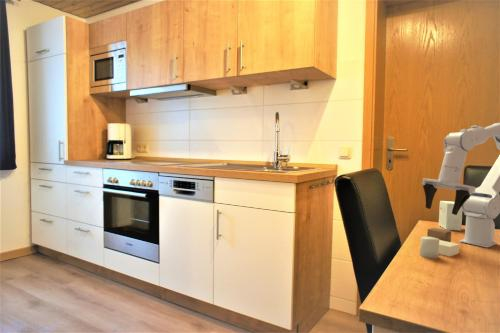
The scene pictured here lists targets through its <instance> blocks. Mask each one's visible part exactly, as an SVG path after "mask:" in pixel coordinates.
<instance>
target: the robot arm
mask: <svg viewBox="0 0 500 333" xmlns="http://www.w3.org/2000/svg"><path fill="white" fill-rule="evenodd" d="M489 138H493V139H494V143H495V146H496V149H498V150H499V151H500V122H495V123H493V124H491V125H487V126H485V127H483V126H479V125H476V124H475V125H472V126H470V128H468V129H466V128H462V129H460V131H458V132H449V134H447V135H446V137H444V138H443V146H444V148H443V154H444V156H443V160H442V164H441V168H440V172H439V174H438V179H433V178H431V179H430V178H424V177H423V178H422V182H421V185H422V188H423V190H424V195H425V196H424V198H425V208H426V209H429V210H431V208H432V205H433V201H434V197H435V195H436V193H437V191H438V188H440V189H447V190H452V191H455V199H454V202H455V203H454V206H453V210H452V214H454V215H457V213H458V211H459V210H460V208H461V209H462V213H463V214H464V215H465V216H466V217H465V227H464V228H465V231H464V238H462V239H460V240H459V242H460V243H465V244H469V245H474V246H477V247H483V248H490V247H493V246H495V245H497V244H498V242H497V241H495V240H494V239H495V229H496V228H495V227H496V225H495V222H494V219H496V218H497V217H498V216H499V215H500V154H499V156H498V157H497V158H496V160H495V161H494V164H493V165H492V167H491V168H490V170H489V171H488V173H487V175H486V176H485V178H484V179H483V181H482V183H481V185H480V186H478V187H475V186H473V185H468V184H462V183H460V181H461V177H462V174H463V170H464V166H465V163H466V158H467V155H468V151H472V150H473V149H474V147H476V146H478V145H482V144H484V143H486V142H487V141H488V139H489Z"/></svg>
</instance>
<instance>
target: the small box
mask: <svg viewBox="0 0 500 333" xmlns="http://www.w3.org/2000/svg"><path fill="white" fill-rule="evenodd" d="M454 203H455V201H451V200H450V201H449V200H448V201H447V200H440V201H439V210H438V212H439V213H438V214H439V215H438V227H440V226H441V228H442V227H443V228H442V229H445V230H450V231H460V232H461V231H462V226H463V225H462V223H463V222H462V221H463V211H462V209H461V208H460V210H459V211H458V213H457V215H454V214H452V210H453V206H454Z"/></svg>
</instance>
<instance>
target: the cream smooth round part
mask: <svg viewBox="0 0 500 333" xmlns="http://www.w3.org/2000/svg"><path fill="white" fill-rule="evenodd" d="M439 255H440V254H439V239H438V238H434V237H428V236H421V237H420V249H419V256H421V257H423V258H426V259H433V260H437V259H439Z"/></svg>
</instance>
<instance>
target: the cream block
mask: <svg viewBox="0 0 500 333" xmlns="http://www.w3.org/2000/svg"><path fill="white" fill-rule="evenodd" d="M459 252H460V243H456V242H452V241H451V242H447V241H442V240H439V255H441V256H445V257H449V258H450V257H453V256H455V255H458V254H460V253H459Z"/></svg>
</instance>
